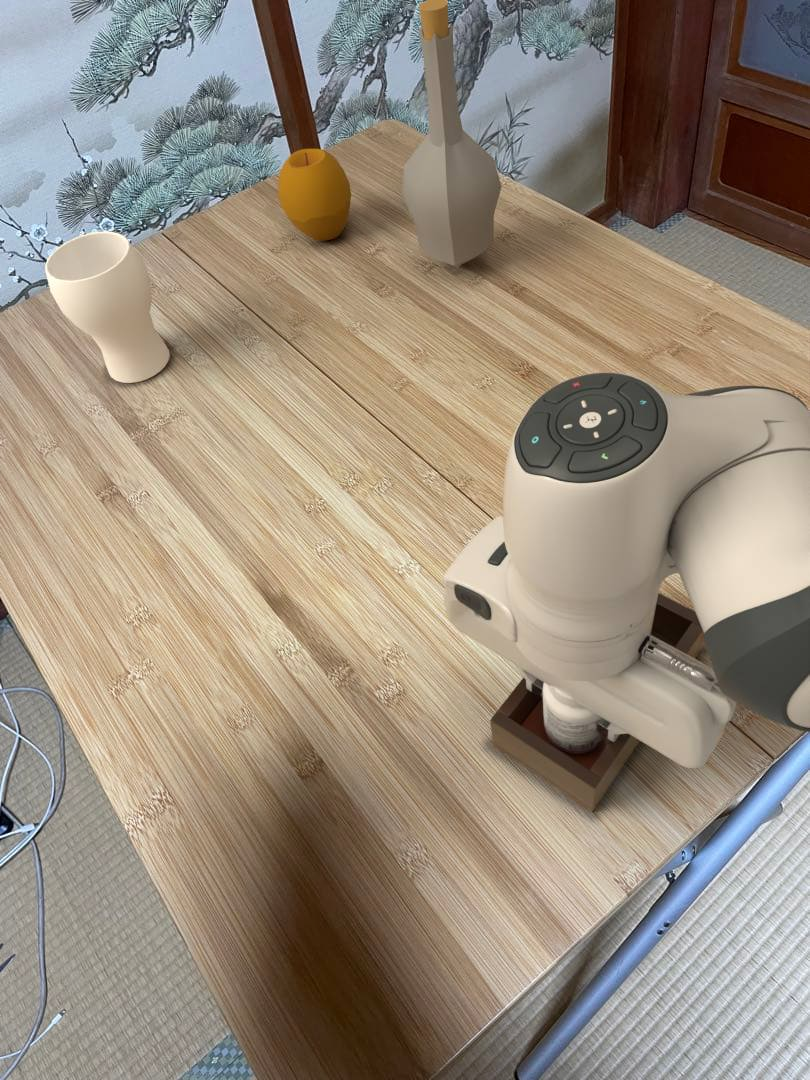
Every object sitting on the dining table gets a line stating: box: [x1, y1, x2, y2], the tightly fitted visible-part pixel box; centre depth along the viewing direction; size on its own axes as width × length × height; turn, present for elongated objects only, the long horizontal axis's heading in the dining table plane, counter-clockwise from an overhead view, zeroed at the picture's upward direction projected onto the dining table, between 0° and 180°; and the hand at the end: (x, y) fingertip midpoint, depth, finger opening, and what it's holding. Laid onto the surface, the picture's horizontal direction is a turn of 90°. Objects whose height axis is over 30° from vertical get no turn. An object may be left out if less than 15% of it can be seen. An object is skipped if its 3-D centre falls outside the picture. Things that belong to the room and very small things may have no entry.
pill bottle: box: [543, 683, 604, 754], centre depth 61 cm, size 5×5×8 cm
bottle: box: [401, 0, 503, 269], centre depth 95 cm, size 11×11×30 cm
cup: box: [44, 231, 171, 384], centre depth 97 cm, size 11×11×15 cm
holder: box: [489, 592, 705, 813], centre depth 66 cm, size 17×9×5 cm, turn 141°
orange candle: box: [277, 148, 352, 242], centre depth 111 cm, size 10×10×12 cm
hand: (574, 707), depth 62 cm, fingers closed on holder, pill bottle, 5 cm apart
